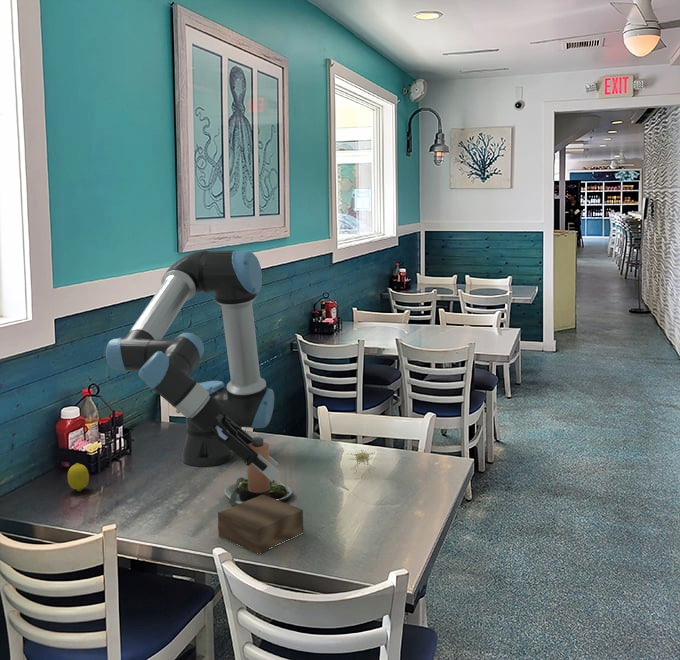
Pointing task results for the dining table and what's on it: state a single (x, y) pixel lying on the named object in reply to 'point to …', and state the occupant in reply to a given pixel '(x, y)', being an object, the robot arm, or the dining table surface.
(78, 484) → the lemon
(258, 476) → the sauce bottle
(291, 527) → the walnut block
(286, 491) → the salad plate
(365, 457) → the beige splat shape
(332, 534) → the dining table surface
